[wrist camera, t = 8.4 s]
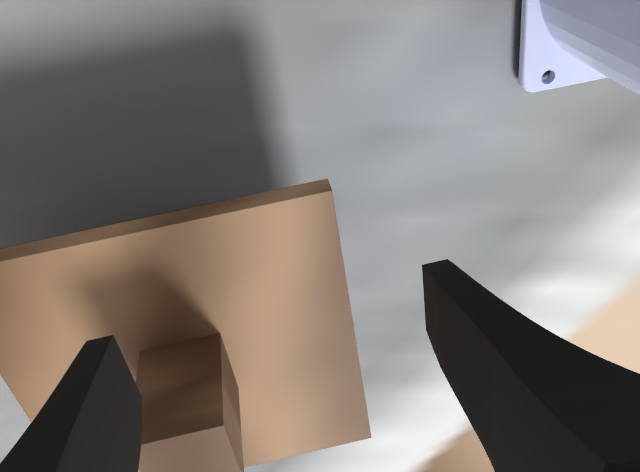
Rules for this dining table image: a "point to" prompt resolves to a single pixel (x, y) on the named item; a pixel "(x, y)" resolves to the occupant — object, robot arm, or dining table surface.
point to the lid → (200, 326)
